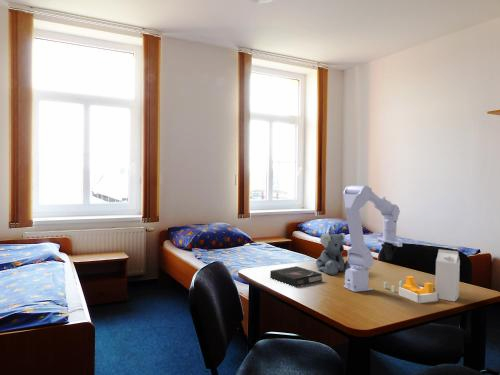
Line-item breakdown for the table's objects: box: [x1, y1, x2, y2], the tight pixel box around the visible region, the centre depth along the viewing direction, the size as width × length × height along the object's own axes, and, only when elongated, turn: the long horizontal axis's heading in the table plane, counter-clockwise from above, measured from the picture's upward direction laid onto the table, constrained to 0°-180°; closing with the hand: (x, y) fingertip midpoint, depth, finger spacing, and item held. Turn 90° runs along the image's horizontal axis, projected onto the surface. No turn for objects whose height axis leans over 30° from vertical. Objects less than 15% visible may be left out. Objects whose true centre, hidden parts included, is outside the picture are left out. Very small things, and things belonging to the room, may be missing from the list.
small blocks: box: [383, 280, 404, 289], centre depth 164 cm, size 9×1×2 cm, turn 110°
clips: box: [391, 285, 396, 293], centre depth 160 cm, size 9×1×2 cm, turn 110°
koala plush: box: [315, 232, 351, 276], centre depth 193 cm, size 17×18×20 cm
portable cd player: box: [269, 266, 323, 288], centre depth 174 cm, size 16×17×4 cm
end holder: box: [398, 285, 439, 304], centre depth 151 cm, size 10×11×3 cm
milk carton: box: [434, 248, 461, 302], centre depth 151 cm, size 7×7×19 cm
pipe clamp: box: [401, 275, 435, 295], centre depth 154 cm, size 12×4×6 cm, turn 20°
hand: (388, 259), depth 174 cm, fingers closed
